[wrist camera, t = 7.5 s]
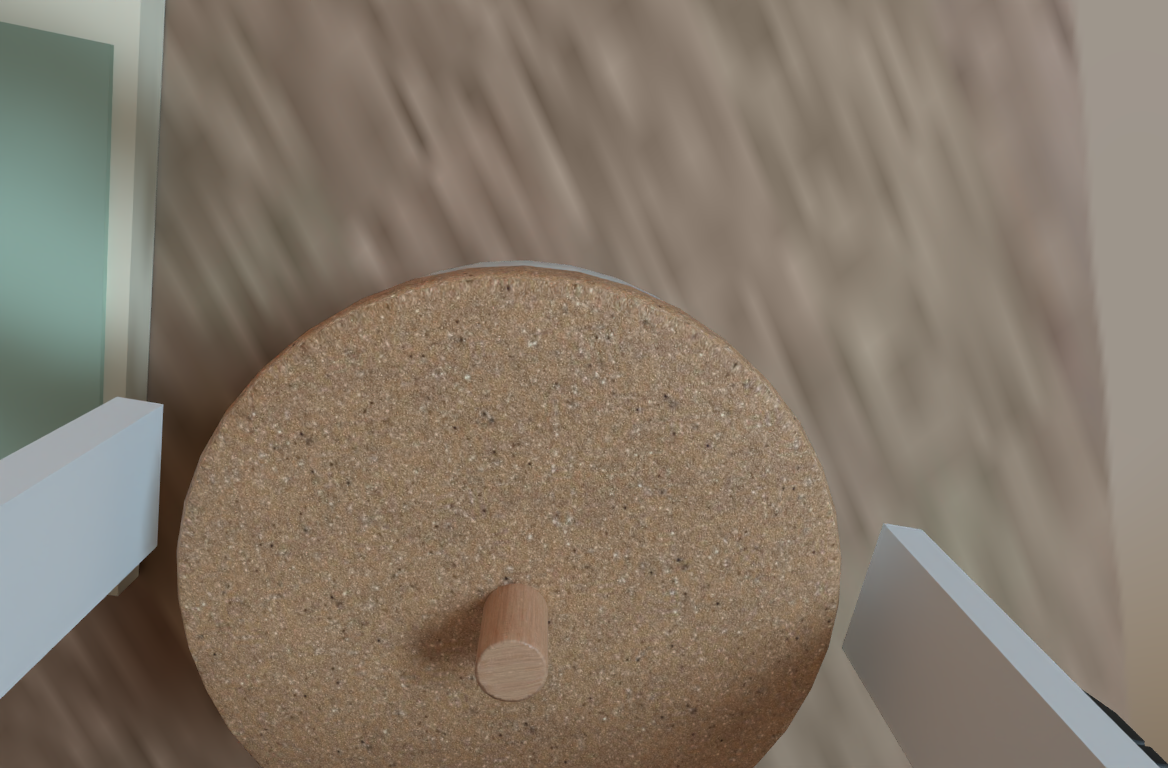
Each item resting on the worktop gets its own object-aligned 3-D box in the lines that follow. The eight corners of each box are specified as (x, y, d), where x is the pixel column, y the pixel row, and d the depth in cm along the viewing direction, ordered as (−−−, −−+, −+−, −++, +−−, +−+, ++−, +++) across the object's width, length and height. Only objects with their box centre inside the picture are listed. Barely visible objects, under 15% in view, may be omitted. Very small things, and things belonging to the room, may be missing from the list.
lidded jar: (744, 597, 21) (892, 913, 12) (362, 647, 21) (222, 1005, 12) (718, 206, 18) (887, 237, 9) (274, 261, 18) (-1, 347, 9)
